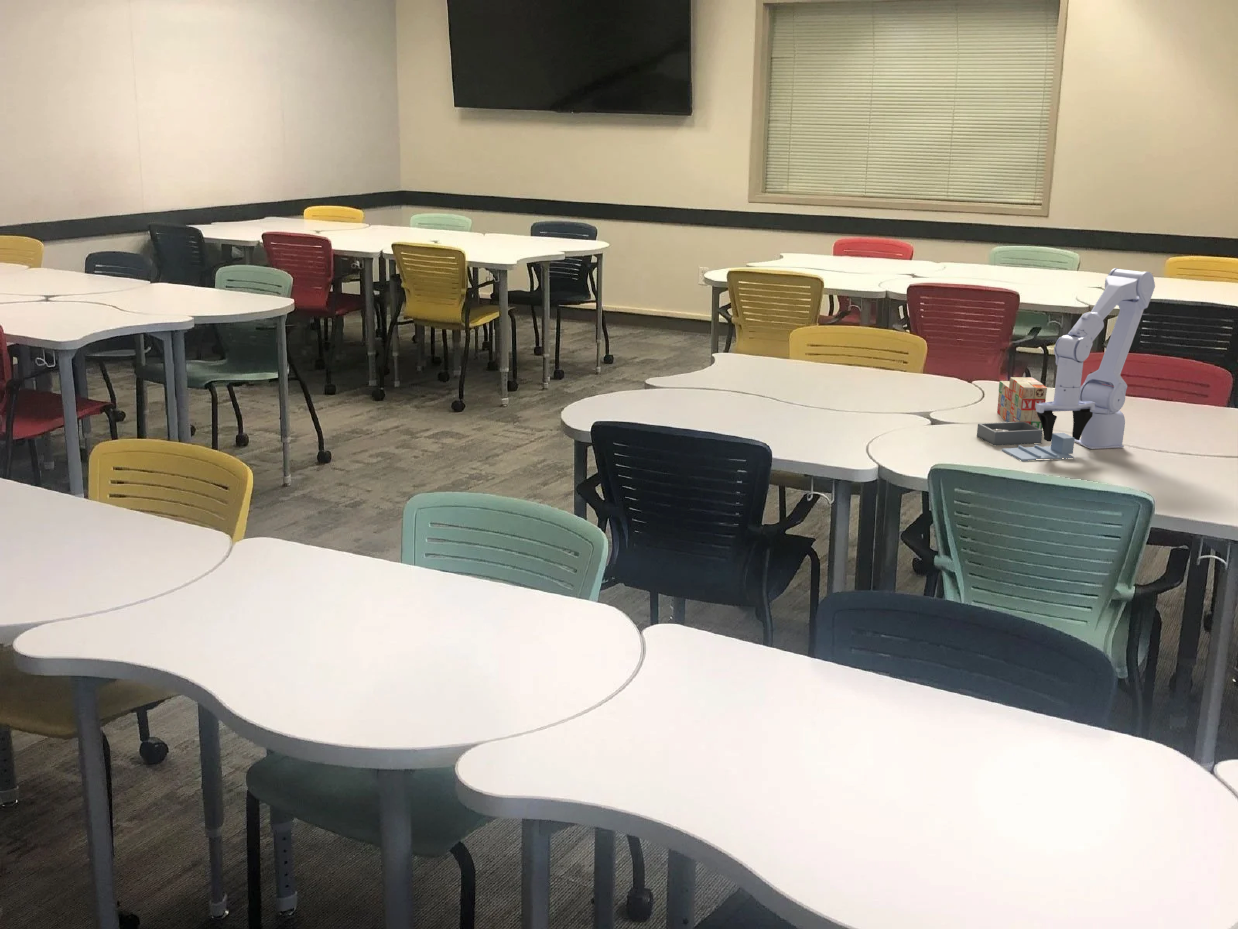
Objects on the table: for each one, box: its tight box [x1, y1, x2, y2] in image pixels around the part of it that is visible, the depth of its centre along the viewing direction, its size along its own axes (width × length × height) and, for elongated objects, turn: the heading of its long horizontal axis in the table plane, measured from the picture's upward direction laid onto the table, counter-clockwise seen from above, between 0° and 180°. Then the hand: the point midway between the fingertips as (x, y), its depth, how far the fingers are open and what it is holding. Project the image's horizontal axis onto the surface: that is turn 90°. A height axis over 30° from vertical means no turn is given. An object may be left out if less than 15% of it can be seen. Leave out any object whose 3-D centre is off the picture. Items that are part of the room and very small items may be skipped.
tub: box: [976, 421, 1043, 447], centre depth 305 cm, size 13×9×4 cm
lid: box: [1001, 432, 1075, 462], centre depth 292 cm, size 15×10×5 cm, turn 102°
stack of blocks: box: [996, 376, 1048, 430], centre depth 322 cm, size 21×6×12 cm, turn 178°
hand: (1061, 439), depth 292 cm, fingers open, 7 cm apart
